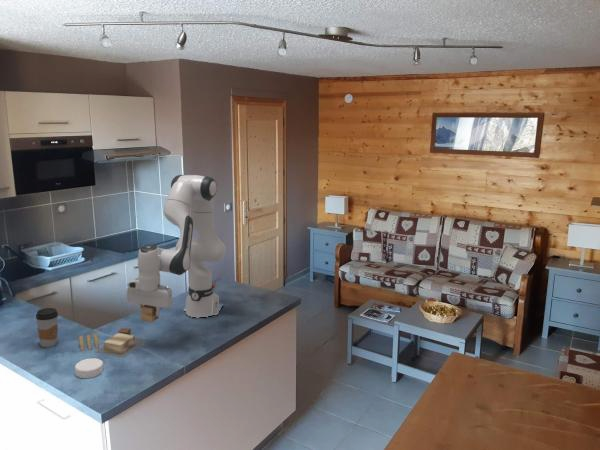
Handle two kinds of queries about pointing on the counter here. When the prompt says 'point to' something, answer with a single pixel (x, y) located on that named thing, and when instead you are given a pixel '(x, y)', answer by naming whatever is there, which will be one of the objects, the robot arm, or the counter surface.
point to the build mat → (137, 344)
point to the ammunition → (88, 342)
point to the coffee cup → (47, 326)
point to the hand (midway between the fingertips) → (149, 314)
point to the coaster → (89, 368)
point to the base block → (119, 343)
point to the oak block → (148, 313)
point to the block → (125, 331)
